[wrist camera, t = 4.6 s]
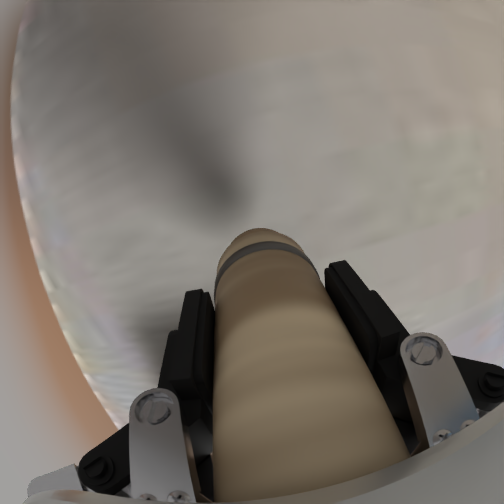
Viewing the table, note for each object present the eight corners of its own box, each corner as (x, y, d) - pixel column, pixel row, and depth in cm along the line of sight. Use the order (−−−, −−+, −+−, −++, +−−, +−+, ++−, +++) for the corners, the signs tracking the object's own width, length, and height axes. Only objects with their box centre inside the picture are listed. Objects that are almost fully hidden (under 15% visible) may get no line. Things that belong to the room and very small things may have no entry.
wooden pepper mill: (207, 228, 13) (175, 548, 2) (296, 210, 13) (471, 475, 2) (226, 302, 14) (240, 555, 4) (304, 286, 14) (400, 519, 4)
